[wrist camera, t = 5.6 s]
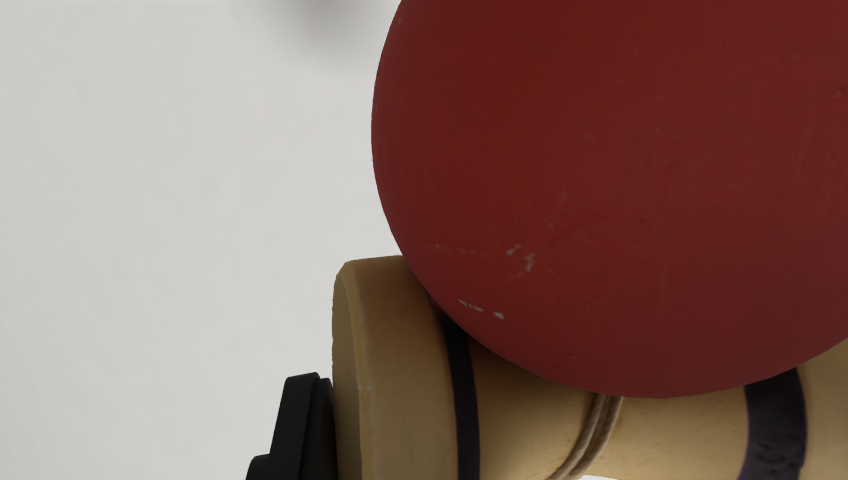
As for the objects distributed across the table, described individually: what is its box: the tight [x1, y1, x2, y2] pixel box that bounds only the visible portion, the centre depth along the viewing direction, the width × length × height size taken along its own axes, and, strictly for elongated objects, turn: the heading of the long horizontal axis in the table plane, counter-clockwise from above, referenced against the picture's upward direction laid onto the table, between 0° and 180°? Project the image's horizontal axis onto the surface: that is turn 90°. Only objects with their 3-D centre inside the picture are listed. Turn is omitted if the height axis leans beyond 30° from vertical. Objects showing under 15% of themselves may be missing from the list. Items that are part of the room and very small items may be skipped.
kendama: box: [332, 0, 848, 480], centre depth 10 cm, size 8×6×18 cm
